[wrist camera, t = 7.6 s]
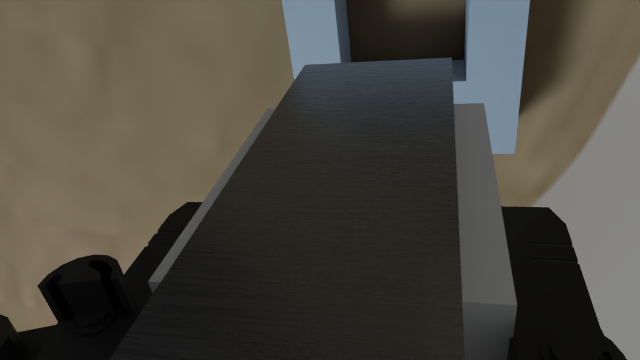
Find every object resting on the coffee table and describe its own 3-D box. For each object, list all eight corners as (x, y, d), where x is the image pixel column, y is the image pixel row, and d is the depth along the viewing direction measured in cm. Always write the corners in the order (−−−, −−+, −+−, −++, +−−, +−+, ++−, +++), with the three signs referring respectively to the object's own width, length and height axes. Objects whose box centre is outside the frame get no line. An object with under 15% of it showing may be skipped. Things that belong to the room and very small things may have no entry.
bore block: (279, -142, 23) (259, -141, 20) (535, -181, 20) (548, -185, 18) (317, 130, 30) (306, 154, 28) (508, 126, 28) (514, 153, 25)
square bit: (305, 64, 14) (-26, 562, 4) (451, 57, 13) (479, 683, 3) (321, 184, 16) (129, 703, 6) (449, 185, 15) (460, 800, 5)
